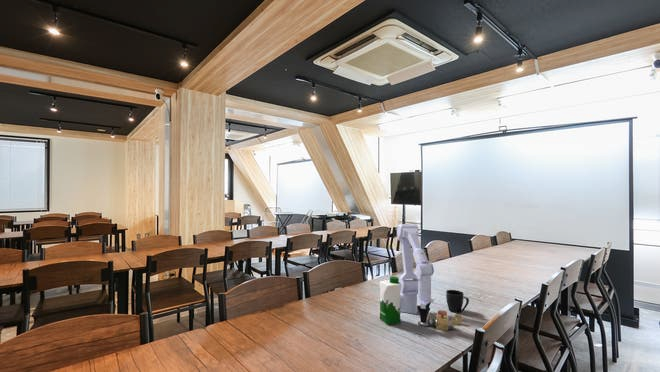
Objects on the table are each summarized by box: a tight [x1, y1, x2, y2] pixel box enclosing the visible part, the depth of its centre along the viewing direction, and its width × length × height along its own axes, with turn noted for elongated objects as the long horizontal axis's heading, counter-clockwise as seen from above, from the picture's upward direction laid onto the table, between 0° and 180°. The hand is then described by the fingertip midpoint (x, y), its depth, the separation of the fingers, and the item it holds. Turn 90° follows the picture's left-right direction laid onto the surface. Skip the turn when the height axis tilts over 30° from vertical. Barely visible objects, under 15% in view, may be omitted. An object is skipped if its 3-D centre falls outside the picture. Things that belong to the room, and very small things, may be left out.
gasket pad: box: [417, 321, 432, 328], centre depth 136 cm, size 6×6×1 cm
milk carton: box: [379, 276, 402, 326], centre depth 139 cm, size 9×9×20 cm
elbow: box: [450, 313, 463, 326], centre depth 137 cm, size 4×2×4 cm, turn 88°
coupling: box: [419, 311, 431, 327], centre depth 136 cm, size 4×4×5 cm
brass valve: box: [430, 309, 454, 331], centre depth 133 cm, size 9×5×7 cm, turn 68°
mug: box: [445, 289, 470, 314], centre depth 151 cm, size 8×12×10 cm
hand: (424, 319), depth 136 cm, fingers open, 7 cm apart
